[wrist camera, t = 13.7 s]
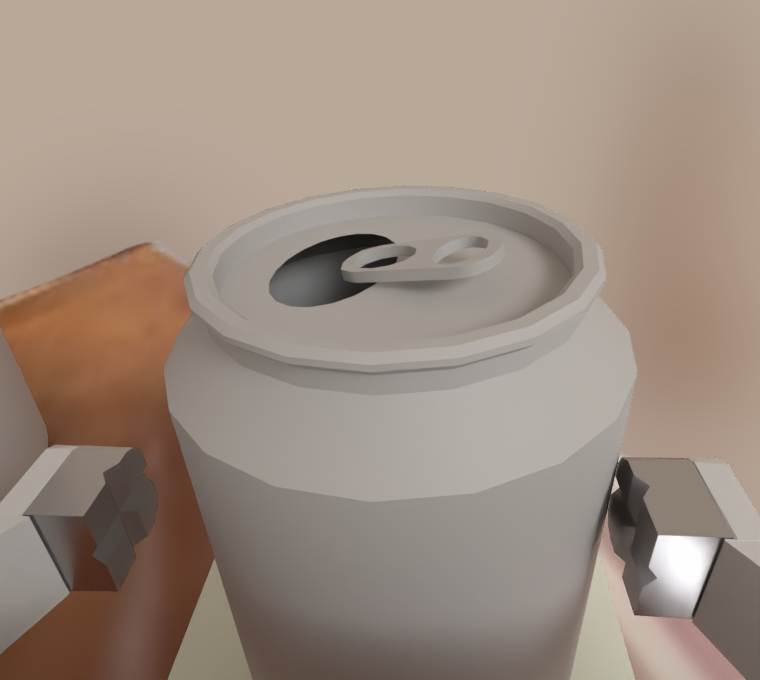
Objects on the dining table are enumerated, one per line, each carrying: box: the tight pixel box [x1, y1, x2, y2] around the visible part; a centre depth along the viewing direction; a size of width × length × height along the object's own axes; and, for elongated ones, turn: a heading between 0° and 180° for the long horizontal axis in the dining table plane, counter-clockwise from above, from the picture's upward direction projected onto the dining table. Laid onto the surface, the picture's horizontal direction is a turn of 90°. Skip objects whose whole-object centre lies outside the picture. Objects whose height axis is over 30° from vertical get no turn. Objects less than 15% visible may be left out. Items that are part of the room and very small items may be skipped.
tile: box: [168, 550, 635, 680], centre depth 15 cm, size 12×12×1 cm
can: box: [163, 186, 637, 680], centre depth 12 cm, size 8×8×12 cm
